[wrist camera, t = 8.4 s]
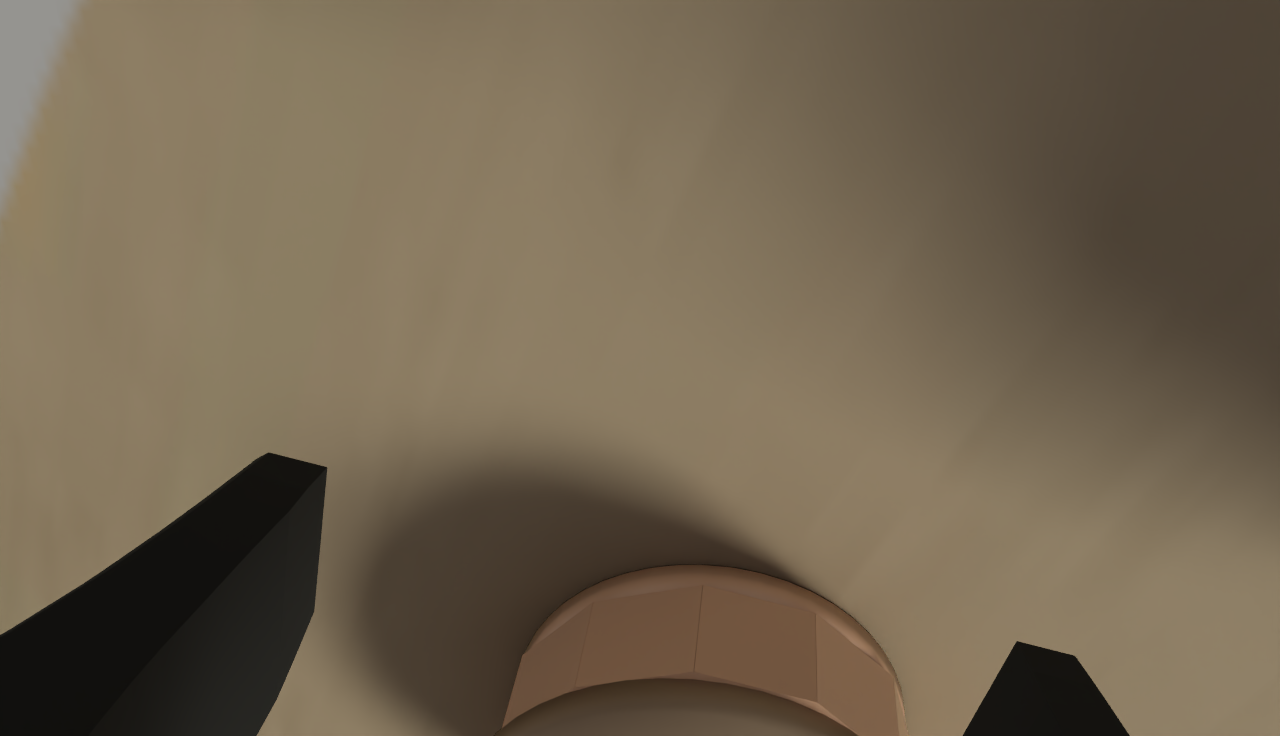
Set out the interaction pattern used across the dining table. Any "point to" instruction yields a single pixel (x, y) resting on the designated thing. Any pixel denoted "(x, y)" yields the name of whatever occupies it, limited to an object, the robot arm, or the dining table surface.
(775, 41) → the dining table surface
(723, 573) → the bowl
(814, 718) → the lid
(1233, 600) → the dining table surface
